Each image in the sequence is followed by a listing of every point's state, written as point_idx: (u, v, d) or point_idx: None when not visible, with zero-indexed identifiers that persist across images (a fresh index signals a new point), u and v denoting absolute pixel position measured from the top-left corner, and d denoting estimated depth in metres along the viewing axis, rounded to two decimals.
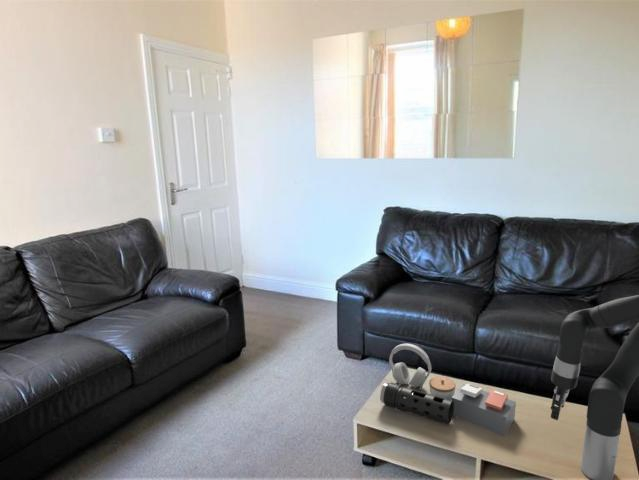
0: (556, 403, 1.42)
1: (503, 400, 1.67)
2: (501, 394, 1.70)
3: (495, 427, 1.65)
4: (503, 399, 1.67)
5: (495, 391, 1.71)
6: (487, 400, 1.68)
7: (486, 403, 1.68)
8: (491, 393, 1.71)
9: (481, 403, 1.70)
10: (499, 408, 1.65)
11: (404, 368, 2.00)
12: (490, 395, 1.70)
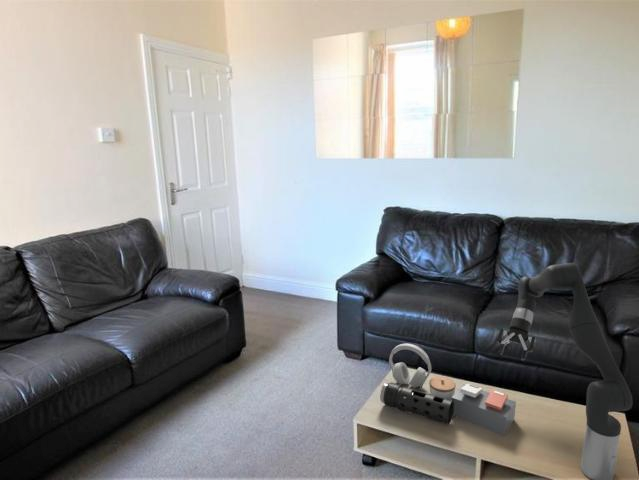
0: None
1: (503, 400, 1.67)
2: (501, 394, 1.70)
3: (495, 427, 1.65)
4: (503, 399, 1.67)
5: (495, 391, 1.71)
6: (487, 400, 1.68)
7: (486, 403, 1.68)
8: (491, 393, 1.71)
9: (481, 403, 1.70)
10: (499, 408, 1.65)
11: (404, 368, 2.00)
12: (490, 395, 1.70)
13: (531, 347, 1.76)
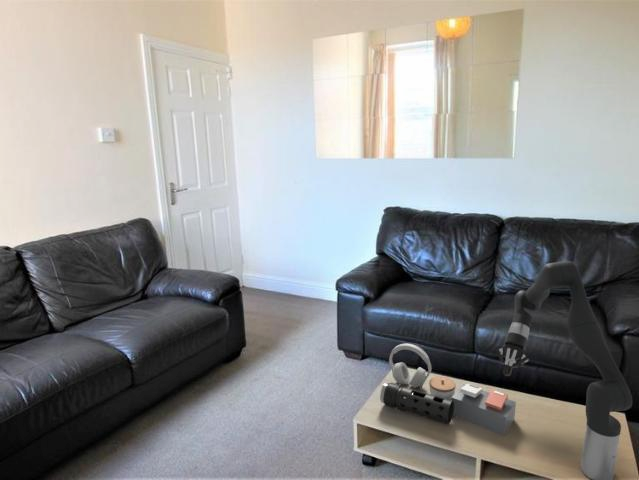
0: None
1: (503, 400, 1.67)
2: (501, 394, 1.70)
3: (495, 427, 1.65)
4: (503, 399, 1.67)
5: (495, 391, 1.71)
6: (487, 400, 1.68)
7: (486, 403, 1.68)
8: (491, 393, 1.71)
9: (481, 403, 1.70)
10: (499, 408, 1.65)
11: (404, 368, 2.00)
12: (490, 395, 1.70)
13: (516, 363, 1.74)
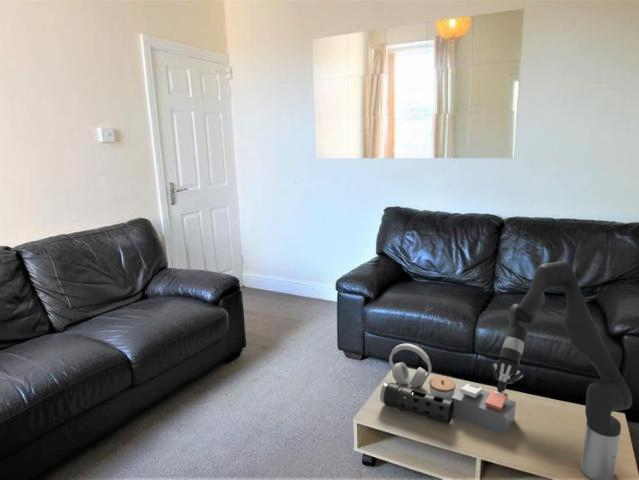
0: None
1: (503, 400, 1.67)
2: (501, 394, 1.70)
3: (495, 427, 1.65)
4: (503, 399, 1.67)
5: (495, 391, 1.71)
6: (487, 400, 1.68)
7: (486, 403, 1.68)
8: (491, 393, 1.71)
9: (481, 403, 1.70)
10: (499, 408, 1.65)
11: (404, 368, 2.00)
12: (490, 395, 1.70)
13: (510, 379, 1.71)
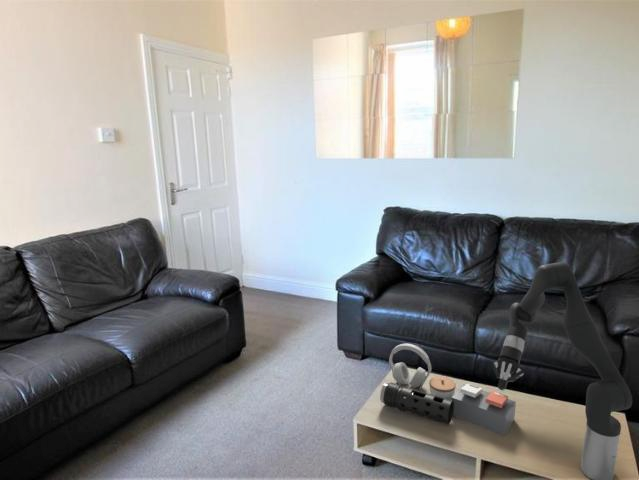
0: None
1: (503, 399, 1.67)
2: (501, 395, 1.70)
3: (495, 427, 1.65)
4: (504, 399, 1.68)
5: (495, 392, 1.72)
6: (488, 397, 1.68)
7: (486, 400, 1.67)
8: (491, 393, 1.71)
9: (481, 403, 1.70)
10: (499, 405, 1.64)
11: (404, 368, 2.00)
12: (490, 394, 1.71)
13: (511, 377, 1.72)
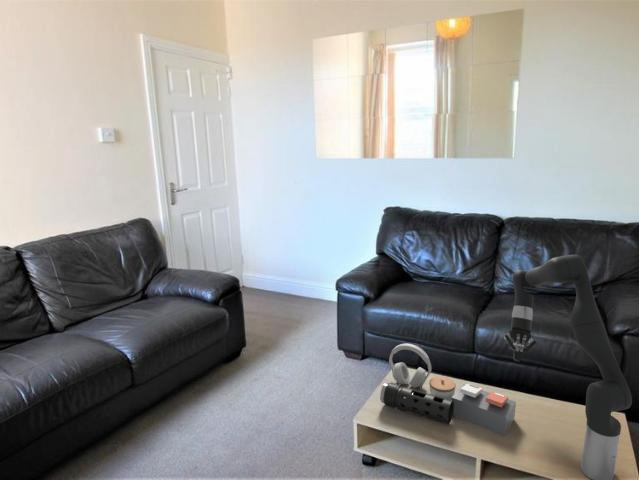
0: (507, 342, 1.78)
1: (504, 399, 1.67)
2: (501, 395, 1.70)
3: (495, 427, 1.65)
4: (504, 399, 1.68)
5: (495, 393, 1.72)
6: (488, 397, 1.68)
7: (487, 399, 1.67)
8: (491, 393, 1.72)
9: (481, 403, 1.70)
10: (500, 404, 1.64)
11: (404, 368, 2.00)
12: (491, 394, 1.71)
13: (526, 348, 1.75)
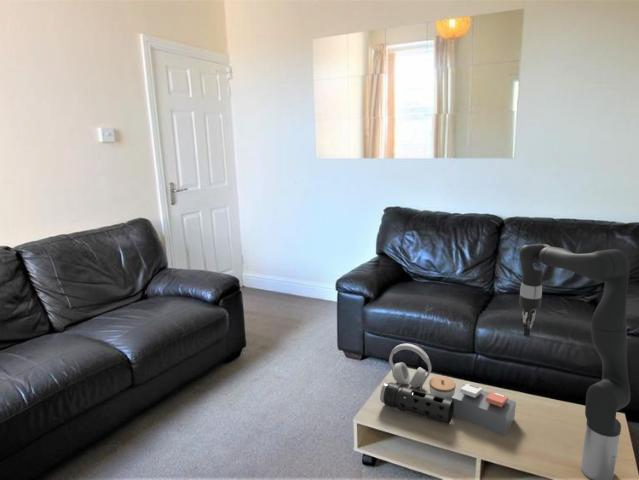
0: (525, 324, 1.67)
1: (504, 399, 1.67)
2: (501, 396, 1.70)
3: (495, 427, 1.65)
4: (504, 399, 1.68)
5: (495, 393, 1.72)
6: (488, 396, 1.68)
7: (487, 399, 1.67)
8: (491, 394, 1.72)
9: (481, 403, 1.70)
10: (500, 404, 1.64)
11: (404, 368, 2.00)
12: (491, 394, 1.71)
13: (533, 320, 1.72)
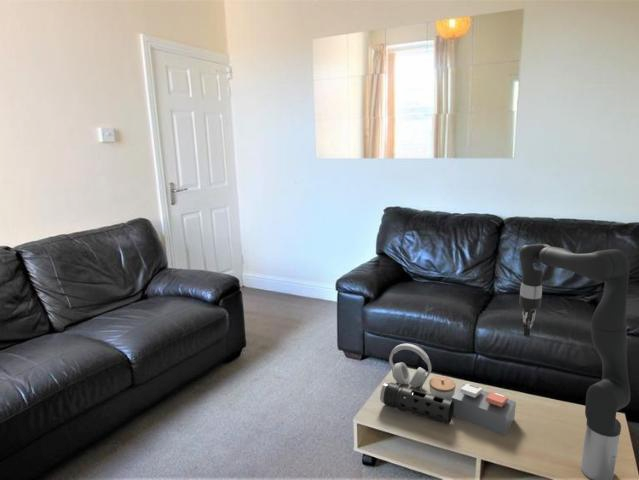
0: (525, 324, 1.67)
1: (504, 399, 1.67)
2: (501, 396, 1.70)
3: (495, 427, 1.65)
4: (504, 399, 1.68)
5: (495, 393, 1.72)
6: (488, 396, 1.68)
7: (487, 399, 1.67)
8: (491, 394, 1.72)
9: (481, 403, 1.70)
10: (500, 403, 1.64)
11: (404, 368, 2.00)
12: (491, 394, 1.71)
13: (533, 320, 1.72)
